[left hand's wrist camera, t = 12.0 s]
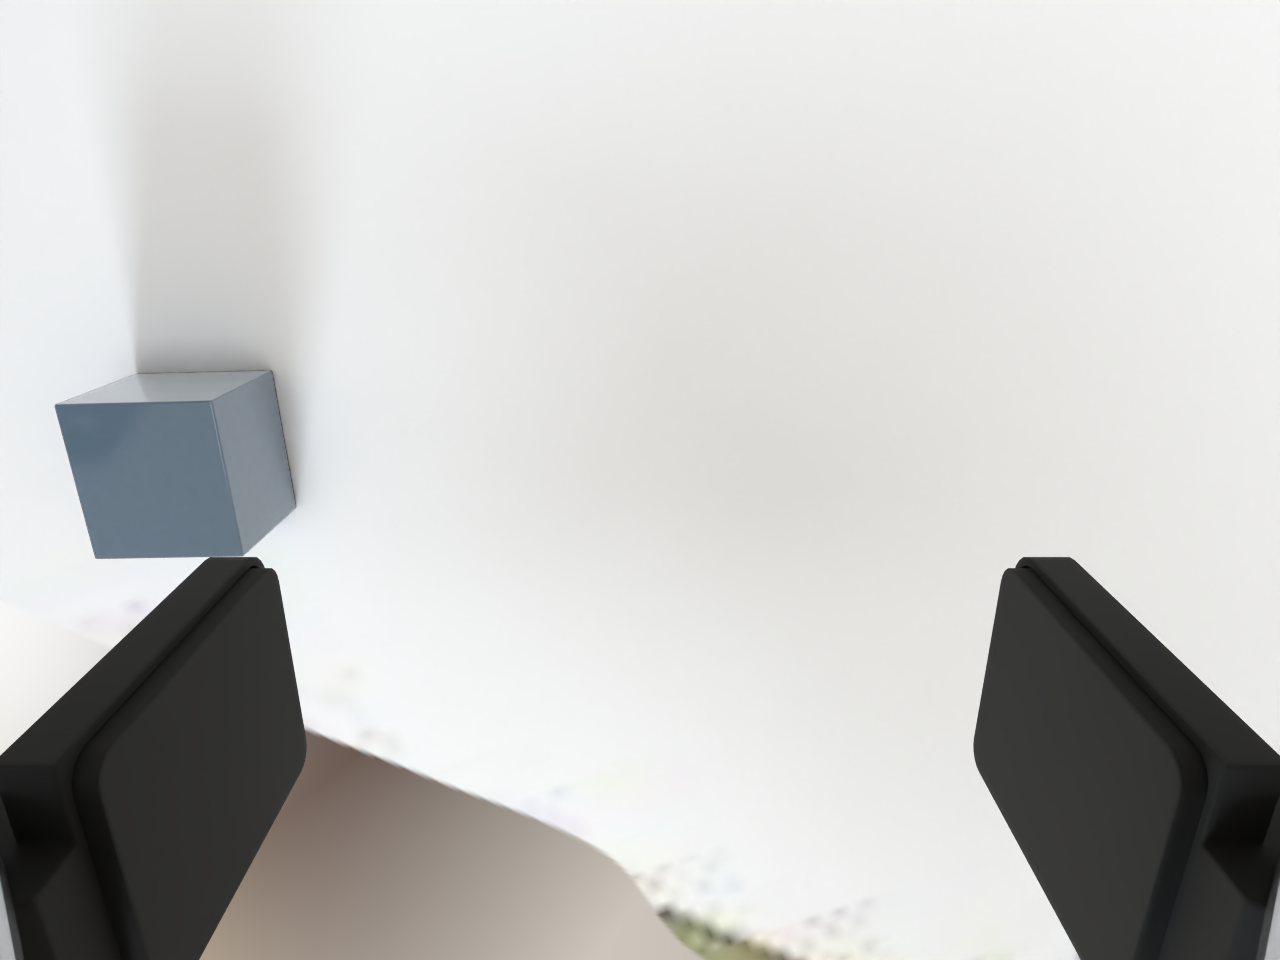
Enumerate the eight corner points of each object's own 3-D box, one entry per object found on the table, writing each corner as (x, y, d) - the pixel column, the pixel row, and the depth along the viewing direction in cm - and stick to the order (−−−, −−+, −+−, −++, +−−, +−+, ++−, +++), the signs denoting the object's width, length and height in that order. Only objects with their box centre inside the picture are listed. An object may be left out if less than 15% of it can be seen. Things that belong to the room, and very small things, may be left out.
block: (134, 373, 28) (53, 404, 25) (272, 370, 28) (211, 400, 24) (166, 510, 30) (94, 559, 26) (296, 508, 30) (243, 557, 26)
